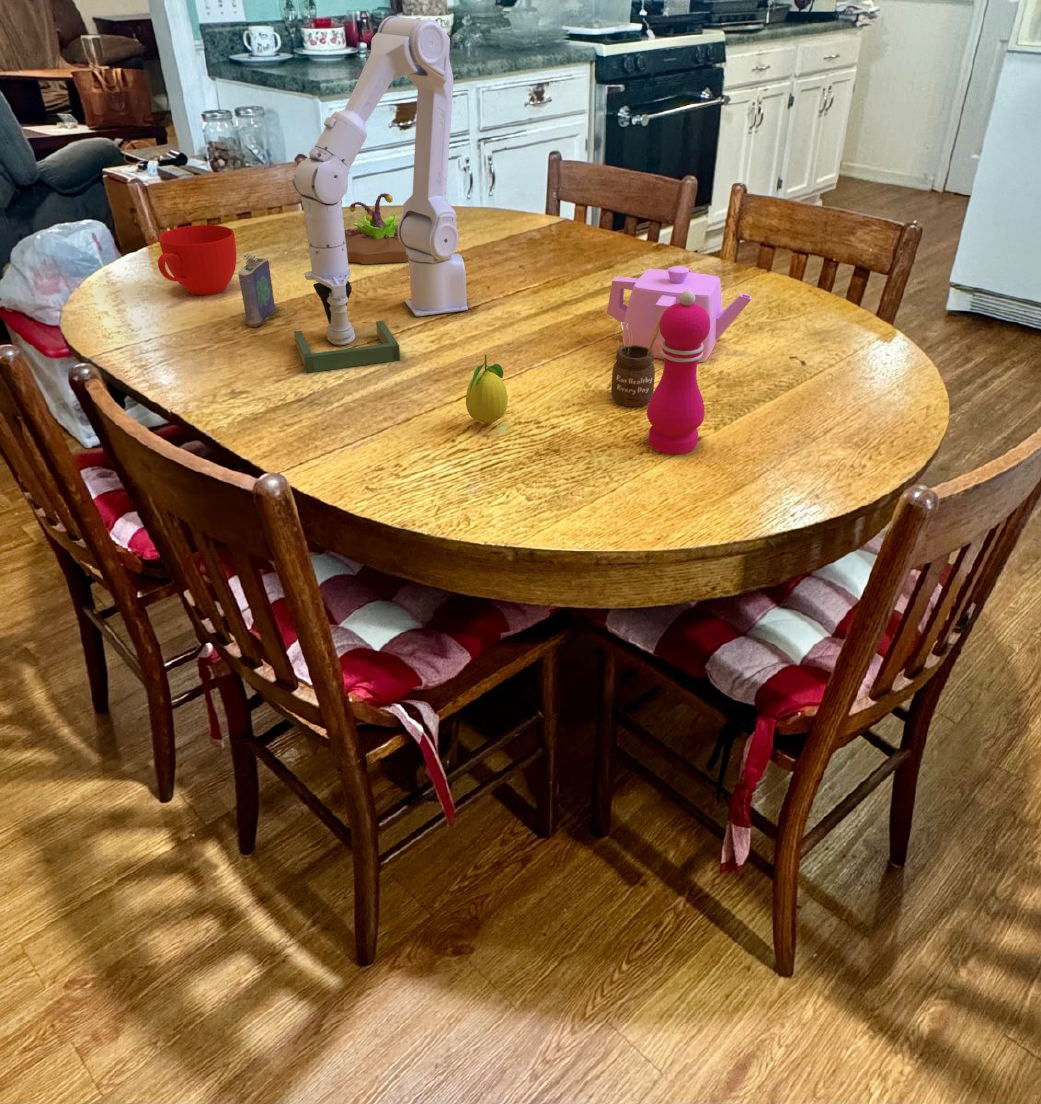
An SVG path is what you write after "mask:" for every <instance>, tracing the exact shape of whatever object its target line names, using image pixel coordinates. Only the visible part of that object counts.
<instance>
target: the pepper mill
mask: <svg viewBox="0 0 1041 1104" xmlns="http://www.w3.org/2000/svg"><path fill="white" fill-rule="evenodd" d="M694 302H695V295H694V293H693V292H691V291H684V292H683V293H682V294H681V296H680V303H675V304H673V305H671V306H670V307H668V308H667V309H666V310H665V311H664V312H663V314H662V316H661V319H660V324H659V329H660V333H661V335H662V337H663V338H664V339H665V340H664V341H663V343H662V350H661V354H662V356H663V357H664V359H663V360H664V361H663V362H664V363H663V371H662V374H661V377H660V379H659V381H658V384H657V385H656V387H655V388H654V390H653V394H652V396H651V398H650V401H649V403H647V408H646V417H647V419H648V422H649V423H650V425H651V426H650V427H649V429H648V439H647V441H648V444H649V446H650V447H651V448H652V449H653V450H655V451H657V452H660V453H663V454H667V455H685V454H688V453H691V452H693V451H694V450H696V448H697V445H698V439H699V432H698V428H700V427H701V425H702V424H703V422H704V420H705V409H706V408H705V403H704V399H703V396H702V393H701V391H700V388H699V384H698V378H697V373H698V364H699V362H698V360H699V359H700V358H701V357H702V356H703V352H702V350H703V348H704V346H703V344H702V341H704V340H705V339H706V337H707V336H708V334H709V331H710V318H709V315H708V313H707V312H706V310H705V309H704V308H702V307H701V306H700V305H698V304H695V303H694Z"/></svg>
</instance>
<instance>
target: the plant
mask: <svg viewBox="0 0 1041 1104" xmlns="http://www.w3.org/2000/svg"><path fill="white" fill-rule="evenodd" d="M382 198H384V200H385V201H386V202H387V203H388V204H389V203H393V196H392V195H391V194H390V193H385V192H384V193H380V194H379V195H378V196H377V198H376V200H375V203H374V210H373V209H372V208H371V207H369V205H367V204H366V203H363V202H361V201H356V202H353V203H351V204H350V205H349V207H348V209H349V211H350V212H352V213H354V212H355V211H356V206H361V207H362V208H364V211H366V214H365V215H364V216H363V219H362V218H359V219H358V220H359V222H360V223H361V224H360V223H357V222H352V224H353V225H354V227H356V228H347V229H344V231H345V240H346V248H347V258H348V263H356V264H361V265H375V264H376V265H377V264H392V263H393V264H394V263H395V264H396V263H409V262H408V255H407V254H406V248H405V247H404V246H403V245H402V244H401V243H400V241H399V239H398V233H397V229H398V224H399V222H397V223H396V220H397V215H396V214H394V215H391V216H389V217H387V218H386V219H385V220H383V218H382V216H381V208H380V206H381V205H380V203H381V199H382ZM395 223H396V224H395ZM362 225H363V226H362Z"/></svg>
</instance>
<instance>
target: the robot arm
mask: <svg viewBox="0 0 1041 1104" xmlns="http://www.w3.org/2000/svg"><path fill="white" fill-rule="evenodd" d="M370 42H371V43H370V54H369V56H368V58H367V60H366V61H365V64H364V67H363V68H362V71H361V73H360V76H359V77H358V79H357V82H356V84H355V86H354V88H353V90H352V92H351V94H350V97H349V99H348V101H347V103H346V105H345V107H344V109H342V110H339V111H334V112H333V113H332V114H331V116H327V117H326V118H325V120H324V121H323V125H324V129H323V130H322V132H321V134H320V136H319V137H318V139H317V141H316V144H315V145H314V147H312V148H311V149H310V151H309V152H308V156H309V157H306V158H304V160H301V161H300V162H299V163H298V164H297V166H296V168H295V171H294V178H292V179H291V184H292V187H293V190H294V191H295V192H296V194H297V195H298V196H299V197H300V201H301V206H302V208H303V213H304V222H305V223H304V224H305V231H306V238H307V244H308V252H309V260H310V266H311V270H310V271H306V272H304V278H305V280H307V281H315V283H314V284H313V285H312V286H313V288H314V290H315V292H316V294H317V296H318V297H319V298H320V300H321V303H322V305H323V309H324V313H325V315H326V319H327V322H328V326H329V325H330V323H331V311H330V309H329V308H330V306H331V305H330V304H329V303H328V302H327V299H328V297H329V293H331V294H332V295H333V298H342V297H347V298H348V300H349V298H350V297H351V294H352V290H353V287H352V285H351V283H350V281H349V279H350V277H351V275H352V274H351V269H350V268H349V262H348V258H347V248H346V240H345V231H344V230H345V223H344V222H345V221H344V213H343V203H342V199H343V197H344V196H345V195H346V194H347V193H348V187H349V178H348V177H349V174H350V169H351V167H352V165H353V164H354V162H355V159H356V158H357V156H358V154H359V152H360V150H361V149H362V147H363V145H364V143H365V142H366V139H367V137H368V134H367V129H366V123H367V121H368V119H369V118H370V117H371V115H372V113H373V112H374V110H375V109H376V107H377V106H378V104H379V102H380V101H381V99H382V97H383V96H384V95H385V93H386V91H387V90H388V89H389V87H390V85H391V84H392V82H393V81H394V80H395V79H399V78H403V77H405V76H407V77H408V79H409V80H410V81H411V83H412V84H413V85H414V86H415V88H416V89H417V95H416V97H417V98H416V116H415V137H414V155H413V159H414V160H413V178H412V194H411V196H409V198H407V200H405V201H404V203H403V204H402V213H401V218H400V219H399V221H398V223H399V224H398V229H397V233H398V239H399V241H400V243H401V244H402V245H403V246H404V247H405V248H406V254H407V255H408V262H407V263H408V277H409V287H410V288H409V289H410V298H408V299H407V298H406V299H405V300H404V302H405V304H406V305H407V307H408V308H409V310H410V311H411V313H412V314H413V315H414V316H415V317H423V316H424V317H425V316H431V315H441V314H448V313H455V312H465V311H468V310H469V307H468V301H467V299H468V298H467V274H466V267H465V262H464V261H465V260H464V259H463V257H462V255H461V254H460V253H455V252H456V251H457V248H458V246H459V242H460V234H459V230H458V227H457V213H456V211H455V209H454V208H453V206H452V205H451V204H450V202H449V201H448V199H447V188H448V187H447V185H448V172H449V171H448V170H449V158H450V157H449V156H450V142H451V141H450V140H451V127H452V126H451V124H452V111H453V94H454V93H453V92H454V74H453V70H452V65H451V61H450V47H451V38H450V37H449V35H448V34H447V33H446V31H445V30H444V29H443V27H442V26H441V24H440V23H438V22H437V21H436V20H434V19H431V18H423V19H420V18H410V17H409V18H408V17H400V16H398V15H389V16H387V17H385V18H384V19H383V20H382V21H381V22H380V24H379V27H378V29H377V32H375V34H374V36H372V38H371V41H370ZM331 291H332V292H331ZM346 306H347V307H348V302H347V303H346Z"/></svg>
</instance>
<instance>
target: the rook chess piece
mask: <svg viewBox="0 0 1041 1104" xmlns="http://www.w3.org/2000/svg"><path fill="white" fill-rule="evenodd" d="M331 292H332V291H331ZM327 302H328V303H329V304H330V305H331V306H330V308H329V309H330V311H331V323H330V325H329V324H328V327H327V330H326V333H327V336H326V337H327V340H328V341H329V342H330V343H331V344H333V345H336V346H346V345H349V344H351V343H353V341H354V340H355V338H356V334H355V329H354V326H353V325H352V324H351V322H350V321H349V318H348V317H349V316H348V312H347V311H348V305H347V306H346V303H347V304H348V302H349V299H348V298H347V297H342V298H333V295H332V294H331V293H329V297H328V299H327Z"/></svg>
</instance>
